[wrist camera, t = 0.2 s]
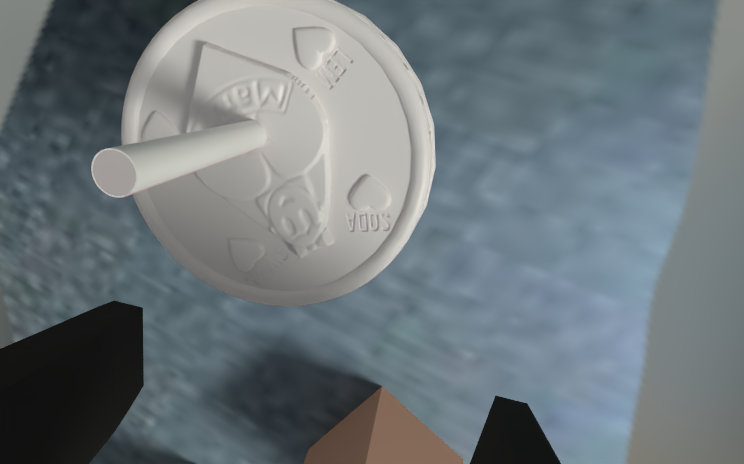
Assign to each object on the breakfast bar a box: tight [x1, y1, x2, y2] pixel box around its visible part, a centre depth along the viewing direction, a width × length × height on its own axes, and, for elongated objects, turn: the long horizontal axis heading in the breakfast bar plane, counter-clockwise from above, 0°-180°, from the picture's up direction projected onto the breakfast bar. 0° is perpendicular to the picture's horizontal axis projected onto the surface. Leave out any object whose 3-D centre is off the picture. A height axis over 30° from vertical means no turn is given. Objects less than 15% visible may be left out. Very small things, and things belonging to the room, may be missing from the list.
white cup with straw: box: [91, 0, 436, 306], centre depth 12 cm, size 6×6×14 cm
